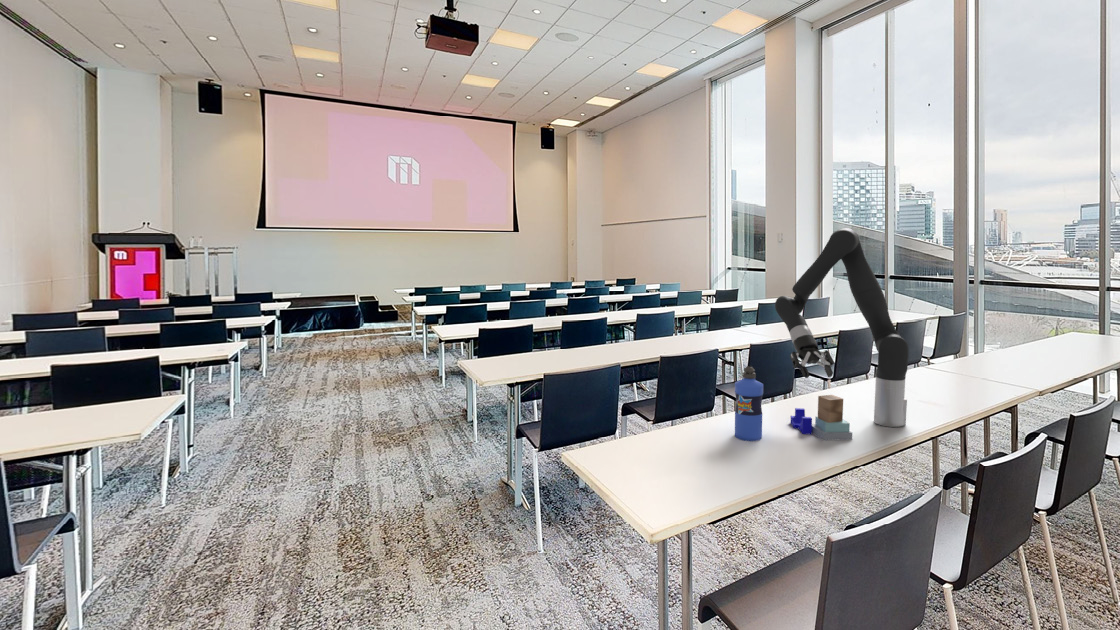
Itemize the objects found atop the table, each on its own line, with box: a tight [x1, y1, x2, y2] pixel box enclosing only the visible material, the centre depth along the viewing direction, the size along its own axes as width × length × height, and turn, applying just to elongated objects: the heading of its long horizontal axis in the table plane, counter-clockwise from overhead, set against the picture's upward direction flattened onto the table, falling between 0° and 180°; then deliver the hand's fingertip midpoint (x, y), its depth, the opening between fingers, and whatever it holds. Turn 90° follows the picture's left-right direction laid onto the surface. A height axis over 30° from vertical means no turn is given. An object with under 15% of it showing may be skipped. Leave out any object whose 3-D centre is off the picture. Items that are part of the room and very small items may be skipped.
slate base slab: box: [812, 423, 853, 441], centre depth 186 cm, size 10×10×3 cm
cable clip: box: [790, 407, 813, 435], centre depth 193 cm, size 12×4×6 cm, turn 168°
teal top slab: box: [814, 416, 851, 432], centre depth 185 cm, size 8×8×3 cm
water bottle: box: [734, 365, 764, 442], centre depth 184 cm, size 9×9×25 cm
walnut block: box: [817, 394, 844, 423], centre depth 185 cm, size 6×6×8 cm
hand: (819, 376), depth 190 cm, fingers open, 8 cm apart
